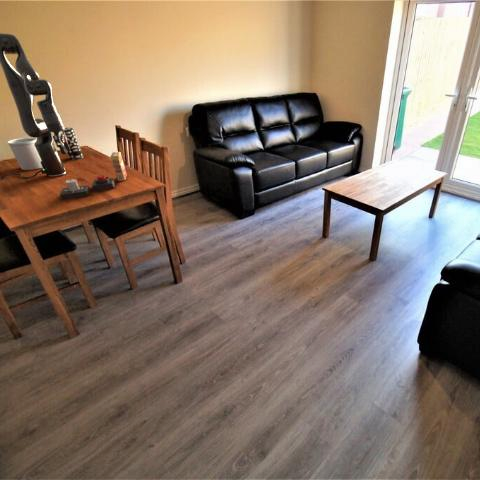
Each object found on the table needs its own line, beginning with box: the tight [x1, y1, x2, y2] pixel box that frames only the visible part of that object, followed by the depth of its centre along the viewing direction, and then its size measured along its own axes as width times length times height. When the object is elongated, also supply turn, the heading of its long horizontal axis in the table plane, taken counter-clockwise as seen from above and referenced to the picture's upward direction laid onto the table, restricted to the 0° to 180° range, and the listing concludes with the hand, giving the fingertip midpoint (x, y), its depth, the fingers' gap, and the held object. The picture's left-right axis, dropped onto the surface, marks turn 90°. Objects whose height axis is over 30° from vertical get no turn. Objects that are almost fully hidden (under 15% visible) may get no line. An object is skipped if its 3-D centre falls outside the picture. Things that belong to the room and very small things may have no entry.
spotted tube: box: [64, 127, 84, 160], centre depth 227 cm, size 8×8×20 cm
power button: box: [96, 174, 107, 180], centre depth 185 cm, size 4×4×2 cm
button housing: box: [91, 176, 116, 192], centre depth 186 cm, size 10×9×5 cm
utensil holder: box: [7, 137, 43, 171], centre depth 211 cm, size 15×15×18 cm
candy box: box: [110, 151, 128, 182], centre depth 195 cm, size 9×4×15 cm, turn 20°
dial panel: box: [59, 184, 91, 201], centre depth 177 cm, size 12×10×3 cm
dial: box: [65, 178, 80, 191], centre depth 175 cm, size 5×5×5 cm
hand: (66, 152), depth 180 cm, fingers open, 8 cm apart
